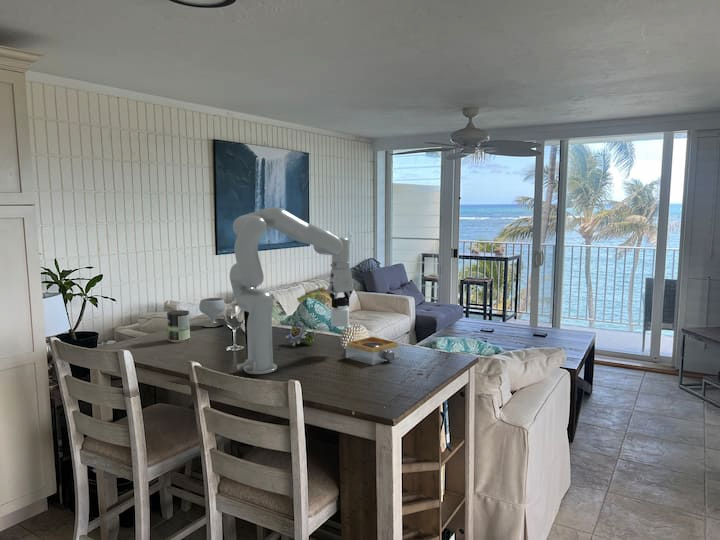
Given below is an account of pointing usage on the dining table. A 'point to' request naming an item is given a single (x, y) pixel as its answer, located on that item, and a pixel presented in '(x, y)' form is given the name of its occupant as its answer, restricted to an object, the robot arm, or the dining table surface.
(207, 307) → the chalice
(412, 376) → the dining table surface
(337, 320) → the medicine bottle
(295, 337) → the passion flower
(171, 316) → the coffee can
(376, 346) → the box
